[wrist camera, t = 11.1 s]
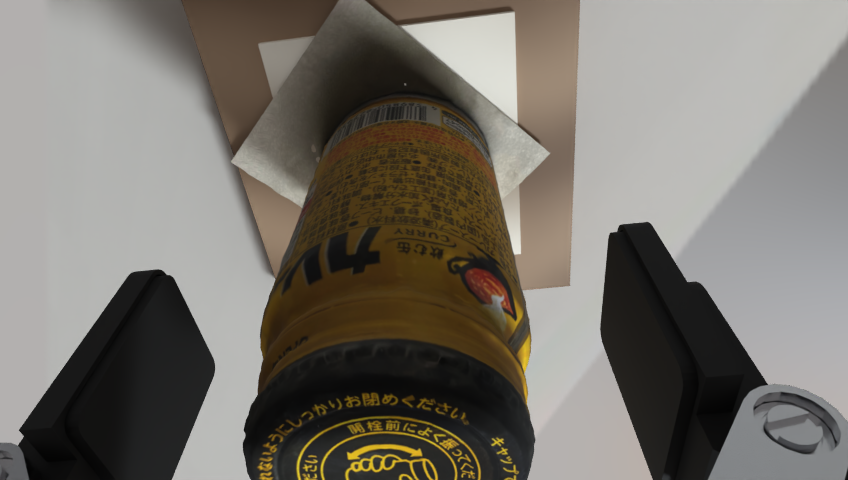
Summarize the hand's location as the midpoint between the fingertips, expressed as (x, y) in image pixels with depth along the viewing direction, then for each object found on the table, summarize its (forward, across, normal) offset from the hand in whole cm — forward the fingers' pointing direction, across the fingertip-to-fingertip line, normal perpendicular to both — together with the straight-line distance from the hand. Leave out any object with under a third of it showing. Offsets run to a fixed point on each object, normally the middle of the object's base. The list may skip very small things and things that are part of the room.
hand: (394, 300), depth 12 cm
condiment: (+9, +1, +1) cm, 9 cm away
